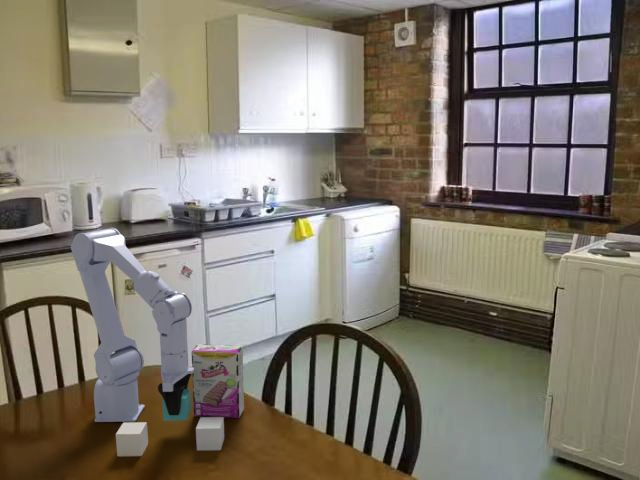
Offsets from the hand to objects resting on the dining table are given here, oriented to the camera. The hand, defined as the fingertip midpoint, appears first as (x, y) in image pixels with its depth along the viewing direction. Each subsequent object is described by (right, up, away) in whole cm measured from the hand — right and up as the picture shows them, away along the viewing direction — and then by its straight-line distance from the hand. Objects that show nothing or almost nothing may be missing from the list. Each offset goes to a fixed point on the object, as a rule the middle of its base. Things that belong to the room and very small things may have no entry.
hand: (177, 408), depth 132 cm
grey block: (+8, -7, -4) cm, 11 cm away
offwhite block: (-8, -7, -6) cm, 12 cm away
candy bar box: (+8, -4, +10) cm, 13 cm away
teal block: (0, -2, 0) cm, 2 cm away
